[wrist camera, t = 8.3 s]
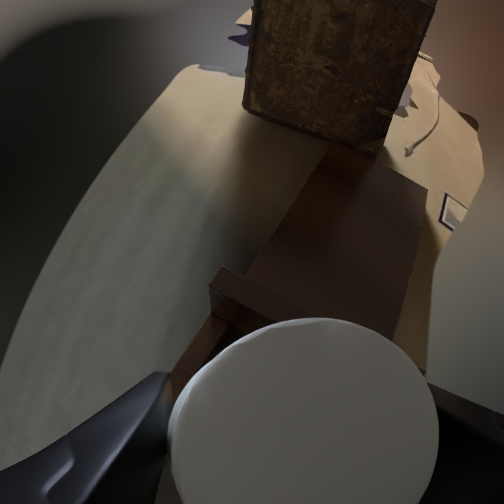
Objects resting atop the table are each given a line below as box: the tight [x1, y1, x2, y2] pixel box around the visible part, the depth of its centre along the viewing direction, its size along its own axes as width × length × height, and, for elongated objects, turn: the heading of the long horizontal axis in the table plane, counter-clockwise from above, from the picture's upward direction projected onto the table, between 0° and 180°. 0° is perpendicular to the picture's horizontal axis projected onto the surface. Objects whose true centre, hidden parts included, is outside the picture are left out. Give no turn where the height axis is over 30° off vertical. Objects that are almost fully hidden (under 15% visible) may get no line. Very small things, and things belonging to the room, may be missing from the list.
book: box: [242, 0, 437, 160], centre depth 23 cm, size 17×7×25 cm, turn 62°
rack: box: [170, 140, 428, 410], centre depth 19 cm, size 30×11×8 cm, turn 151°
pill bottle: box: [167, 318, 439, 504], centre depth 8 cm, size 6×6×10 cm
